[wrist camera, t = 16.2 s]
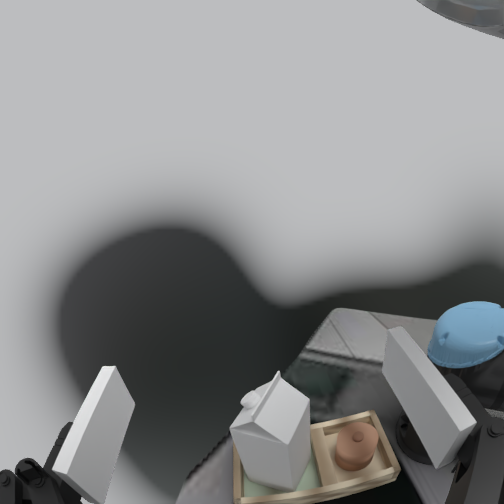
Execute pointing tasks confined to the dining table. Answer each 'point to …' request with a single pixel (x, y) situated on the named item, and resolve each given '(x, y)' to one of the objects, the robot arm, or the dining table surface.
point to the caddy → (330, 464)
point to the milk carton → (274, 435)
